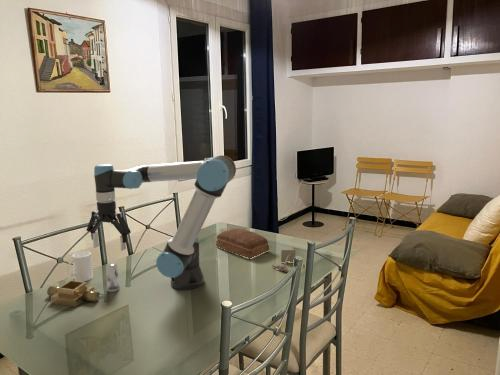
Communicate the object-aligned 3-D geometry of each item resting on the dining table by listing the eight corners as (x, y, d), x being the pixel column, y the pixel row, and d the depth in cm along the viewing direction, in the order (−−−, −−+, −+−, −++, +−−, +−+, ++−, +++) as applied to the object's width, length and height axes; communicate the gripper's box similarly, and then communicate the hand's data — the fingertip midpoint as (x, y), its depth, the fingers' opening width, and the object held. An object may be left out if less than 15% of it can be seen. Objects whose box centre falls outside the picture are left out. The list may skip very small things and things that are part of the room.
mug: (72, 285, 175) (69, 261, 173) (64, 280, 181) (61, 256, 178) (96, 277, 184) (94, 253, 181) (88, 272, 189) (86, 249, 187)
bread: (235, 240, 235) (235, 222, 233) (271, 253, 215) (271, 233, 212) (214, 247, 223) (213, 228, 221) (249, 261, 203) (249, 241, 201)
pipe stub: (122, 287, 173) (120, 262, 170) (115, 293, 168) (113, 267, 166) (111, 286, 174) (109, 261, 172) (104, 291, 169) (102, 266, 167)
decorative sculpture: (287, 274, 187) (287, 260, 185) (268, 271, 190) (268, 257, 189) (296, 262, 201) (296, 249, 200) (278, 259, 205) (278, 246, 203)
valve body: (105, 294, 166) (104, 282, 165) (87, 308, 155) (86, 294, 154) (61, 288, 172) (59, 276, 171) (40, 301, 161) (38, 288, 160)
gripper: (137, 200, 163) (139, 247, 168) (86, 197, 170) (90, 242, 174) (127, 204, 156) (130, 253, 161) (75, 201, 163) (79, 248, 167)
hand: (109, 248), depth 167 cm, fingers open, 13 cm apart
